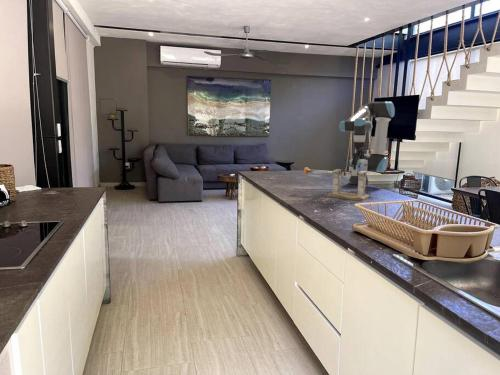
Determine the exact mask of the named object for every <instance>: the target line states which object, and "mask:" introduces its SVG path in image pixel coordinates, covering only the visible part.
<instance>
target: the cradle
mask: <svg viewBox="0 0 500 375" xmlns="http://www.w3.org/2000/svg"><path fill="white" fill-rule="evenodd" d="M333 171H334V172H333V175H332V181H333V182H332V192H329V193H327V195H326V196H327V198H336V199H344V200H350V201H351V200H352V201H361V202H364V201H366V200H367V199H369V198H371V196H370V195H371V194H366V185H365V184H366V171H360V172H359V176H358V185H357V193H354V192H347V191H346V192H345V191H341V177H342V176H341V175H342V169H339V168H338V169H337V168H336V169H333Z"/></svg>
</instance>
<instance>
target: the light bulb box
mask: <svg viewBox="0 0 500 375" xmlns="http://www.w3.org/2000/svg"><path fill="white" fill-rule="evenodd" d="M367 164H368V160H365V159H358V162H357V174H353V165H352V158H351V159H349V164H348V165H349V167H348V169H349V170H348V175H350V176H351V175H352V176H359V172H360V171H366V175H367V176H368V171H367Z"/></svg>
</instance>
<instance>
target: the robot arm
mask: <svg viewBox="0 0 500 375" xmlns="http://www.w3.org/2000/svg"><path fill="white" fill-rule="evenodd" d="M395 112H396V110H395V106H394V103H393V102H392V101H387V100H386V101H371V102H368V103H365V104H364V105H362V106H360V107H359V109H358V110H357V112H355V113H354V114H353V115H351V117H349V118H348V119H347V120H341V121H340V122H339V124H338V129H339V131H340V132H345V133H347V132H349V133H350V132H351V133H353V137H352V138H353V148H355V149H353V155H352V158H351V159H352V165H353V174H357V162H358V159H365V160H368V164H367V172H372V173H384V172H385V171H386V170H387V167H388V164H389V158H388V157H387V154H386V153H385V150H386V145H387V144H386V143H387V137H388V127H389V122H390V121H391V120H392V118H393V117H395ZM368 118H374V119H375V121H376V124H375V132H374V140H373V147H372V148H373V149H372V152H371V153H370V155H369V156H368V154H367V153H366V154H365V147H366V142H365V141H366V133H368V132H370V131H371V130H372V129H373V123H372V122H371V121H369V120H367V119H368ZM348 184H349V185H354V186H358V176H352V175H350V176H349V179H348ZM366 185H367V186H368V185H369V179H368V174H367V175H366V184H365V186H366Z"/></svg>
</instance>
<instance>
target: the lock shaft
mask: <svg viewBox="0 0 500 375" xmlns="http://www.w3.org/2000/svg"><path fill="white" fill-rule="evenodd" d="M302 172H303V175H309V174H320V175H327V176H328V175H330V176H333V172H334V170H332V171H331V170H324V169H323V170H320V169H310V168H309V166H308V167H307V166H304V168H303V170H302Z"/></svg>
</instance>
